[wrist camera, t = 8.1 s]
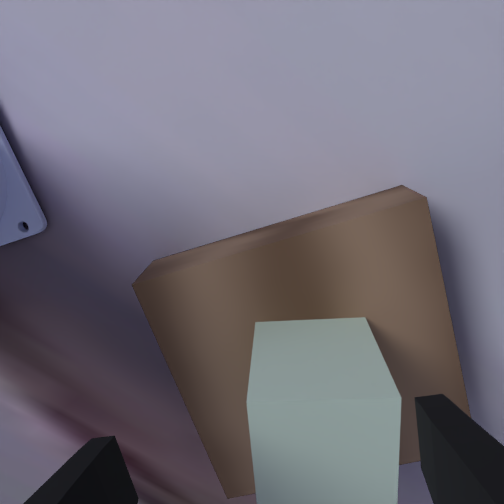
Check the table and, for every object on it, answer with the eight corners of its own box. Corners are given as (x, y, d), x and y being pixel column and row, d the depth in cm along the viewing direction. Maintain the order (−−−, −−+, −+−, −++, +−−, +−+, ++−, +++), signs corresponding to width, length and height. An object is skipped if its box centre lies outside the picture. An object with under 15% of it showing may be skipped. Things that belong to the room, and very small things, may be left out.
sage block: (263, 411, 18) (258, 515, 13) (255, 321, 17) (246, 402, 12) (364, 408, 18) (396, 514, 13) (365, 317, 16) (401, 397, 11)
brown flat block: (233, 451, 23) (227, 498, 20) (153, 260, 19) (131, 284, 16) (450, 404, 21) (477, 449, 18) (402, 185, 17) (426, 197, 15)
